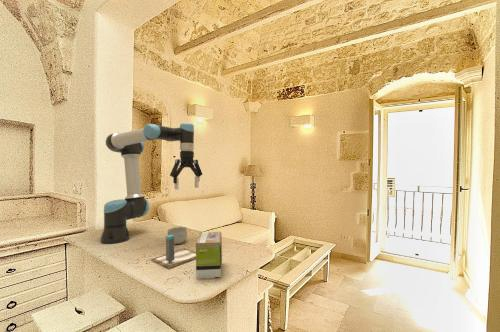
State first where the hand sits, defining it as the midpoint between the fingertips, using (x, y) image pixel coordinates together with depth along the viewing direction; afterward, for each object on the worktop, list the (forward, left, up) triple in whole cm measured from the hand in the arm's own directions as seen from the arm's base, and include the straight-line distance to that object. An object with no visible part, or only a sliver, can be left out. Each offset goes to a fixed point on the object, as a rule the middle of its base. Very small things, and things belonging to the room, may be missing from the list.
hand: (187, 188), depth 135 cm
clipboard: (+13, -15, -32) cm, 37 cm away
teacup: (-8, 0, -32) cm, 33 cm away
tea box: (+35, -14, -32) cm, 49 cm away
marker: (+16, -21, -31) cm, 41 cm away
